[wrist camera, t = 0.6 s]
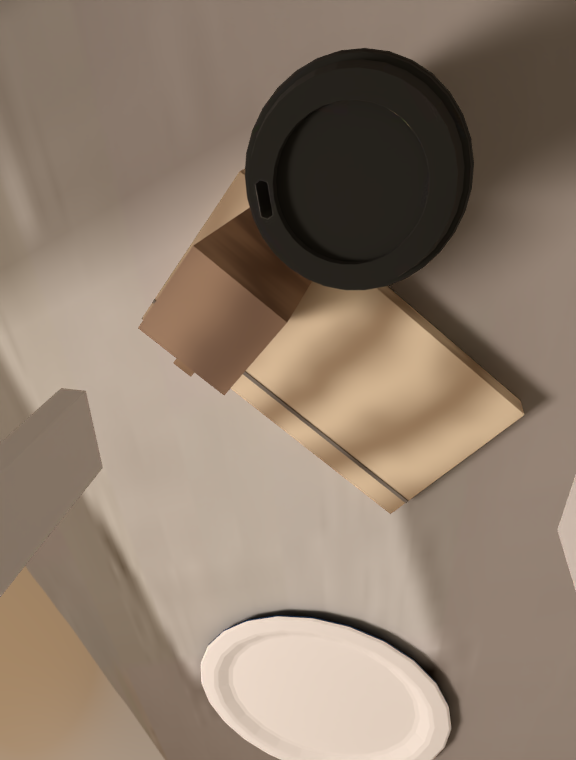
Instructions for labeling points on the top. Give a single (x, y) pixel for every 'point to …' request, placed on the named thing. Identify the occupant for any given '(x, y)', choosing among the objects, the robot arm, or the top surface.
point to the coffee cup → (359, 169)
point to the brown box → (225, 303)
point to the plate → (323, 692)
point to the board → (369, 384)
